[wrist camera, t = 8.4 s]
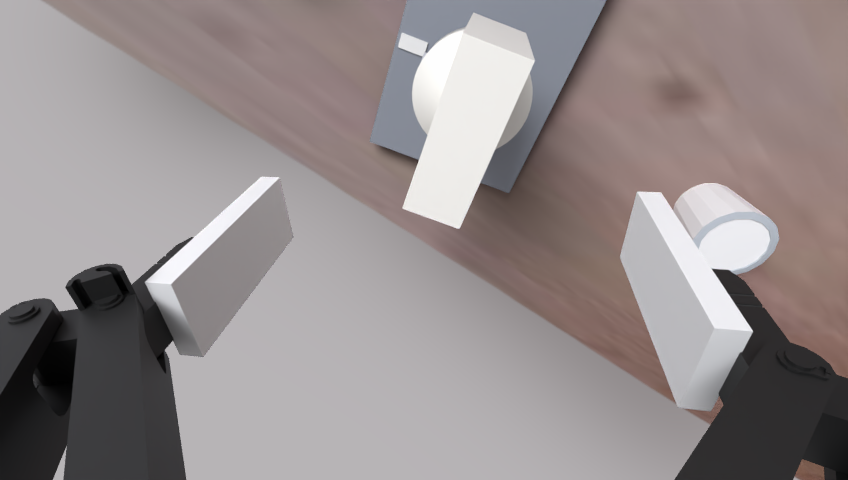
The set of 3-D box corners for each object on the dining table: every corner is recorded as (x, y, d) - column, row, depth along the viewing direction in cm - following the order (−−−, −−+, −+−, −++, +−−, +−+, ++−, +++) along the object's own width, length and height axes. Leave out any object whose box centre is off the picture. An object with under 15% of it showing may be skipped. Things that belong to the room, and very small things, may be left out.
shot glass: (756, 182, 42) (797, 219, 36) (722, 241, 46) (754, 282, 40) (683, 171, 42) (711, 206, 36) (655, 230, 46) (677, 270, 40)
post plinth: (613, -27, 34) (640, -23, 28) (508, 184, 46) (509, 223, 39) (437, -98, 34) (421, -112, 27) (374, 134, 45) (352, 165, 38)
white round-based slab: (443, -5, 30) (413, 13, 20) (556, 39, 30) (582, 79, 20) (397, 145, 36) (357, 216, 26) (490, 180, 37) (486, 262, 27)
